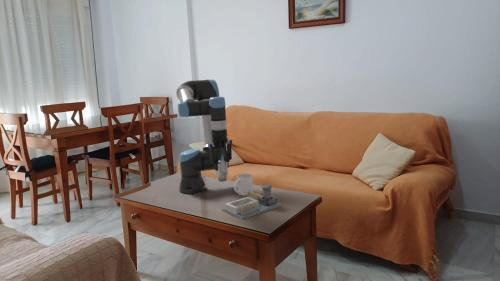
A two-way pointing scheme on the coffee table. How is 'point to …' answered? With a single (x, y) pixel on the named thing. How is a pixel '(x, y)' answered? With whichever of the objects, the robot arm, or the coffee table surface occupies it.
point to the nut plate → (250, 205)
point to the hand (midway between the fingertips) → (222, 175)
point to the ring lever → (260, 198)
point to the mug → (243, 184)
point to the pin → (222, 171)
